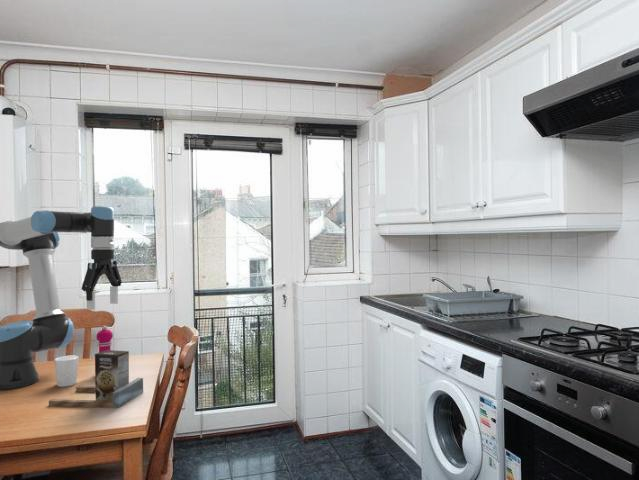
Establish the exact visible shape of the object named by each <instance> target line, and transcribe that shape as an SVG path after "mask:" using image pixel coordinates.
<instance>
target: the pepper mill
mask: <svg viewBox="0 0 639 480" xmlns="http://www.w3.org/2000/svg"><path fill="white" fill-rule="evenodd" d="M113 335H114V334H113V331H112V330H110V329H108V327H107V325H103V326H102V327H101V330H99V331H98V332H97V334H96V340H97V341H98V345H97V346H98V351H99V352H103V351H106V350H112V349H111V345H112V339H113V337H114V336H113ZM99 352H98V353H99Z"/></svg>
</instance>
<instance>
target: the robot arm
mask: <svg viewBox="0 0 639 480" xmlns="http://www.w3.org/2000/svg"><path fill="white" fill-rule="evenodd" d="M114 215H115V213H114V208H113V207H111V206H101V205H97V206H92V207H91V208H90V212H80V211H79V212H77V211H55V210H53V211H52V210H36V211H34V212H33V214H31V216H29V217H25V218H22V219H20V220H16V221H13V220H6V221H2V222H0V247H1V248H4V249H7V250H11V251H12V250H13V251H14V250H15V251H16V250H17V251H18V250H19V251H20V250H22V255H23V256H24V257H25V258H27V259H28V267H29V274H30V279H31V286H32V293H33V301H34V306H35V313H36V314H35V315H34V317H33V318H32V321H31V320H25V319H24V320H19V321H13V322H9V323H5V324H2V326H0V390H1V391H3V390H12V389H20V388H23V387H27V386H30V385H32V384H35V383H37V382H39V379H40V378H39V373H38V371H37V368H36V366H35V364H34V355H33V354H34V353H38V352H39V353H40V352H44V351H49V350H53V349H58V348H62V347H64V346H68V345H69V344H70V342H71V341H72V339H73V336H74V332H75V331H74V330H75V329H74V327H75V326H74V322H73V321H72V319H71V318H70V317H66V313H65V312H63V311H62V310H61V307H60V299H59V294H58V285H57V280H56V273H55V267H54V260H53V255H54V253H56V249H57V247H59V244H60V233H81V234H85V233H90V234H91V235H90V247H91V248H92V249H91V250H90V256H91V257H90V258H91V260H93V262H88V263H87V269H86V272H85V274H84V280H83V282H82V285H81V290H82V291H83V292H85V294H86V295H85V297H86V298H85V299H86V310H87V311H88V310H89V311H94V310H96V291H95V290H94V289H95V287H96V285H97V284H98V281H99V279H100V278H101V277H102V276H103V275H105V276H106V278H107V280H108V281H109V283H110V287H109V304H110V305H111V304H113V305H115V304H116V305H117V304H119V287H121V286H122V283H123V281H122V278H121V275H120V272H119V269H118V264H117V263H118V262H117V260H114V259H115V249H113V248H114V247H115V238H114V237H115V236H114V235H115V216H114Z"/></svg>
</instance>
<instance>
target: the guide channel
mask: <svg viewBox="0 0 639 480" xmlns="http://www.w3.org/2000/svg"><path fill="white" fill-rule="evenodd" d="M75 392H77V393H80V392H81V393H95V385H92V386H91V385H78V386H76V387H75ZM143 392H144V377H137V378H134V379H133V380H132V381H129V383H128V384H126V385H125V386H123V387H121V388H120V389H118V390H116V391H114V392H113V401H99V400H96V399H95V400H93V399H91V400H90V399H59V398H58V399H57V398H52V399H50V400H48V407H80V408H109V409H110V408H112V409H113V408H114V409H119V408H121V407H123V406H124V405H126V404H127V403H129V402H130V401H131V400H134V399H135V398H137V396H139V395H140V394H142V393H143Z"/></svg>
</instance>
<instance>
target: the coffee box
mask: <svg viewBox="0 0 639 480" xmlns="http://www.w3.org/2000/svg"><path fill="white" fill-rule="evenodd" d="M129 353H130V351H128V350H114V349H113V350H112V349H111V350H106V351H103V352H97V353H95V354H94V375H95V376H94V377H95V379H94V380H95V381H94V383H95V384H94V386H95V392H94V393H95V394H94V395H95V400H99V401H113V392H114V391H116V390H118V389H120V388H121V387H123V386H125V385H126V384H128V383H130V364H129V363H130V354H129Z"/></svg>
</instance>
